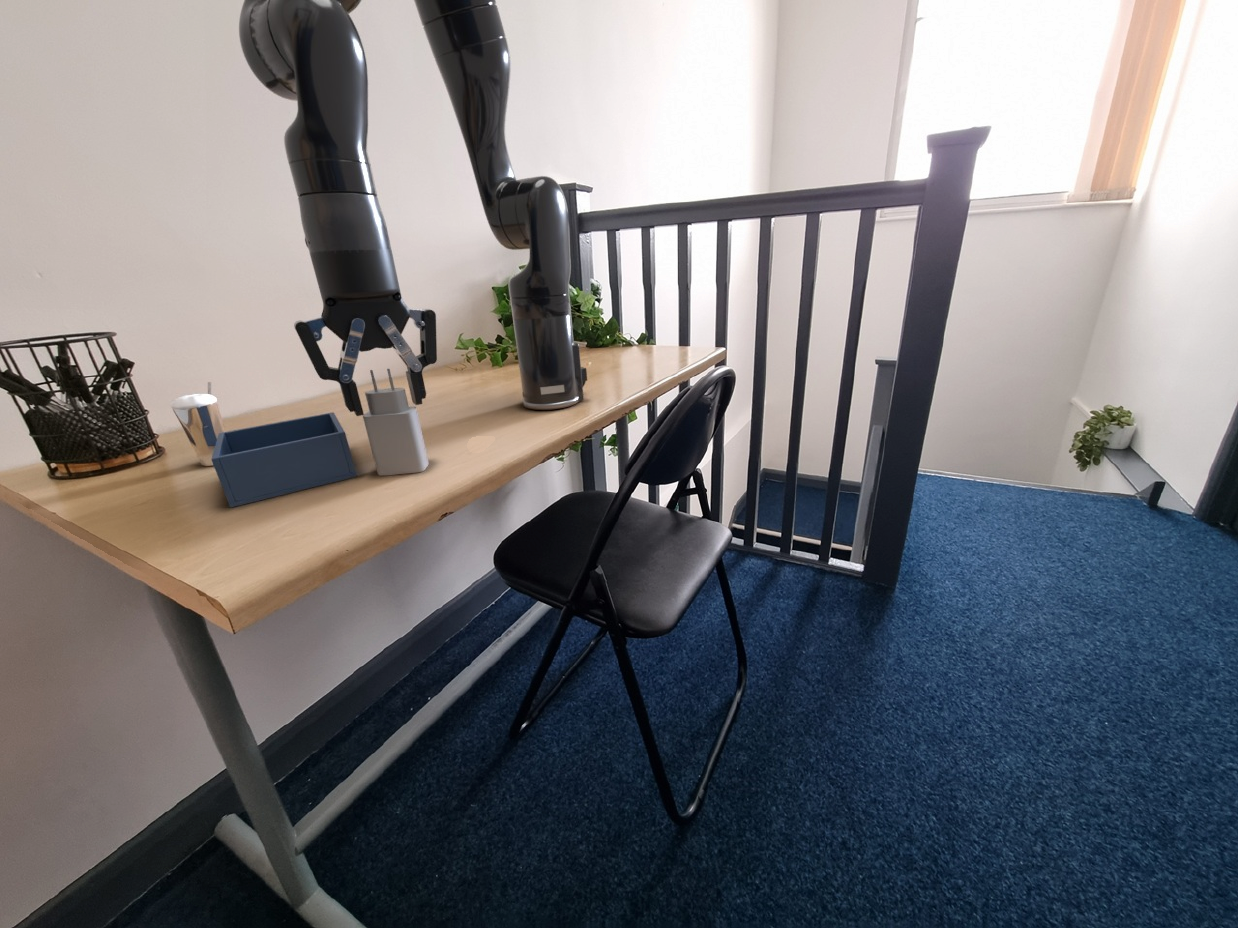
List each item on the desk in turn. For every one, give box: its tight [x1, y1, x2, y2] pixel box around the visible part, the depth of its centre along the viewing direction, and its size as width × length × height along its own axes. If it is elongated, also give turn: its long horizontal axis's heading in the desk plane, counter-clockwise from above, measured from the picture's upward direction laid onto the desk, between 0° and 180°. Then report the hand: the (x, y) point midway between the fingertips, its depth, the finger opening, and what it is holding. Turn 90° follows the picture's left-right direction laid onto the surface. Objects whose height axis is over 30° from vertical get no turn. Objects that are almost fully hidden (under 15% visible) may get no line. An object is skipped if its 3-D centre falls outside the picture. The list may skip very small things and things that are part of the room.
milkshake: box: [170, 381, 226, 467], centre depth 64 cm, size 4×5×10 cm
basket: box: [211, 411, 358, 508], centre depth 58 cm, size 12×11×6 cm
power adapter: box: [362, 368, 430, 477], centre depth 57 cm, size 3×5×12 cm, turn 95°
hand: (389, 408), depth 57 cm, fingers closed on power adapter, 5 cm apart
